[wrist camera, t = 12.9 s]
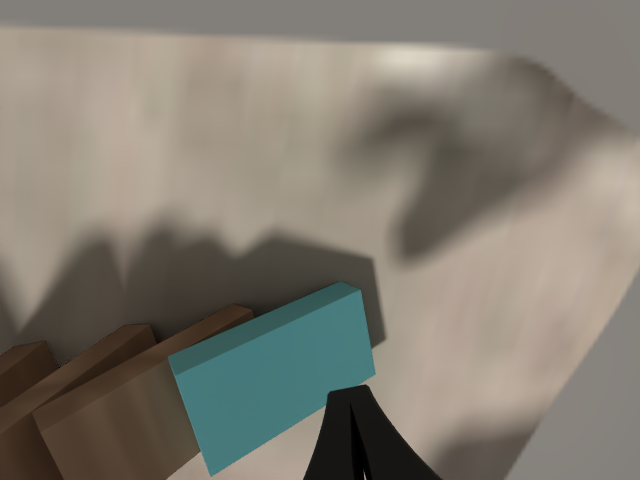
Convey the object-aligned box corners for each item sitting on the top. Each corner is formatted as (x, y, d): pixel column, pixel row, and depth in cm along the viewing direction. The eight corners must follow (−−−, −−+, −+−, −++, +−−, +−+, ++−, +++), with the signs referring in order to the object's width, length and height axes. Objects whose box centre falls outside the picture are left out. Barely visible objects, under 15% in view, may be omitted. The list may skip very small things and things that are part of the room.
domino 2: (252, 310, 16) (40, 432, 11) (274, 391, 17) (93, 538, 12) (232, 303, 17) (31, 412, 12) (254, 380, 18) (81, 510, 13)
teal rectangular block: (355, 360, 18) (200, 449, 15) (340, 281, 17) (167, 356, 13) (375, 374, 17) (210, 477, 13) (360, 289, 16) (175, 375, 12)
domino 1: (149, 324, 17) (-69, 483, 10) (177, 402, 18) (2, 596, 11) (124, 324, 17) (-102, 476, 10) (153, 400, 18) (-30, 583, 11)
